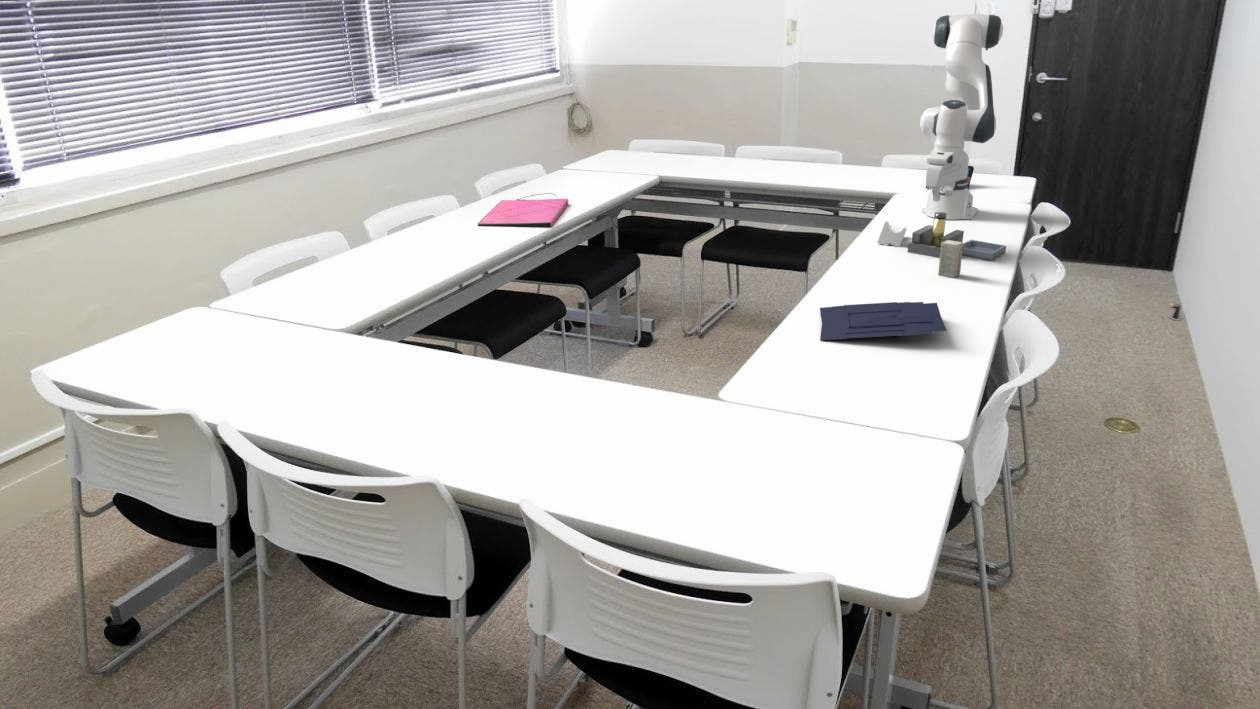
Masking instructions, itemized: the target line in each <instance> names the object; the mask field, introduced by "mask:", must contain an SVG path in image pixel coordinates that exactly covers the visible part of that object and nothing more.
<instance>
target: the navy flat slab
mask: <svg viewBox="0 0 1260 709" xmlns="http://www.w3.org/2000/svg"><path fill="white" fill-rule="evenodd" d="M819 311H820V318H821V329H820V338H819V340H820V341H826V340H827V341H829V340H830V341H831V340H833V341H835V340H847V339H854V338H855V339H858V338H861V339H862V338H875V337H876V338H879V337H880V338H881V337H893V336H894V337H895V336H896V337H898V336H902V337H905V336H906V337H907V336H919V335H929V334H930V335H932V334H934V333H935V332H936V333H937V332H947V328H946V326H945V323H944V320H943V318H942V315H941V312H940V311H941V310H940V309H939V305H938V303H937V302H930V303H929V302H927V303H924V302H923V301H917V302H916V301H914V302H910V301H902V302H897V301H894V302H893V301H892V302H878V303H876V302H875V303H874V302H873V303H861V304H860V303H859V304H844V305H836V306H835V305H834V306H823V307H819Z"/></svg>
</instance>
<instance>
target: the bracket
mask: <svg viewBox="0 0 1260 709" xmlns="http://www.w3.org/2000/svg"><path fill="white" fill-rule="evenodd" d="M907 228H908V226H906V225H904V226H903V227H902V228H901V227H898V226H896V225H893V224H890V220H889V219H885V222H884V224H883V227H882V229H881V232H880V233H879V234H880V235H879V237H878V239H877V243H878V244H880V245H884V246H889V245H891V246H895V247H900V246H901V244H902V242H903V240H904V238H905V236H906V233H907Z"/></svg>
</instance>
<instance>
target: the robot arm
mask: <svg viewBox="0 0 1260 709" xmlns="http://www.w3.org/2000/svg"><path fill="white" fill-rule="evenodd" d="M1003 33H1004V25H1003V22H1002V19H1001V17H1000V16H998V15H995V14H989V15H987V14H981V13H969V14H956V15H950V14H949V15H947V14H946V15H942V16H939V17H938V18H937V19H936V21H935V23H934V26H933V27H932V39H933V44H934V45H935V46H936V47H938V48H941V49H945V51H944V67H945V70H946V74H945V76H946V77H945V84H944V88H945V90H946V92H947V93H948V94H949V95H951V96H952V97H953V98H955V99H951V100H945V101H943V102H942V103H941V105H939V106H933V107H928V108H926V109H925V110H924V111H923V112H922V114H921V116H920V119H919V128H920V130H921V132H922V134H923V135H924V136H925V137H927V138H928V139H929V141H930V142H931V144H932V146H933V149H932V150H931V151H930V153H929V154H928V155H927V157H926V164H927V168H926V172H925V173H926V176H925V187H926V186H927V188H930V189H928V192H927V198H926V200H925V201H926V202H925V206H924V207H923V208H921V211H920V212H921V213H923V214H925V215H926V216H927V217H930V218H933V219H934V215H935V213H936V212H943V213H946V220H951V221H952V220H954V221H955V220H956V221H957V220H971V219H973V217H974V216H975V215H976V214H977V213H978V212H979V208H977V207H975V206H974V207H973V202H974V199H973V198H974V195H973V194H972V193H971V191H970V190H969V189H967V187H968V182H970V183H971V181H970V177H967V171H968V166H969V164H970V163H969V162H970V158H969V155H968V153H967V152H966V151H964V148H965V142H972V143H977V144H978V143H979V144H984V143H986V142H988V141H990V139H993V137H994V135H995V133H996V130H997V119H996V115H995V109H994V107H995V106H994V95H993V83H992V82H993V80H992V73H991V69H990V68H991V67H990V66H989V65H988V64H987V63H985V62H984V61H983V58H982V57H983V56H982V55H983V49H985V51H988V50H989V49H992V48H994V47H996V46H997V45H998V44H999V42H1000V40H1001V39H1002V37H1003ZM982 48H983V49H982Z"/></svg>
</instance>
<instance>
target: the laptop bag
mask: <svg viewBox="0 0 1260 709" xmlns="http://www.w3.org/2000/svg"><path fill="white" fill-rule="evenodd" d="M548 194H551V195H553V196H555V197H556V198H552V199H551V198H550V199H549V198H547V199H526V198H530V195H528V196H525V197H521V198H517V199H502V200H500V201H499V202H498V203H497V204H496V205H495V206H493V208H492V209H491V210H490V211H489V212H488V213H487V214H486V215H485V216H484V217H483V218H481V220H479V222H478V223H477V227H500V228H501V227H503V228H505V227H508V228H509V227H510V228H552V227H553V225H554V224H555V223H556V222H557V220H558V219H559V218H560V216H561V215H562V214H563V212H564V211H565V210H566V208H567V207H568V205H569V198H558V196H557V195H556V194H554V193H550V192H549V193H548V192H547V193H546V192H545V193H544V195H548ZM539 195H542V193H538V194H536V196H539ZM533 196H534V197H535V194H533V195H531V197H533Z"/></svg>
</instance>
